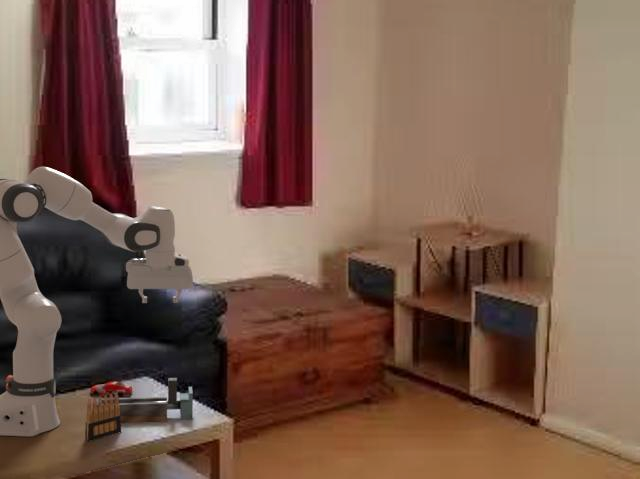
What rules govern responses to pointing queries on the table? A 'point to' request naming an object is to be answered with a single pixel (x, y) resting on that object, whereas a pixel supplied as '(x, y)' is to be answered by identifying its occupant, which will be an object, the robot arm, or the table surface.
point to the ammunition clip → (103, 418)
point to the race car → (112, 389)
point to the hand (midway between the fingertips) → (160, 302)
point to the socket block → (186, 404)
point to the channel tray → (141, 410)
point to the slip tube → (169, 396)
